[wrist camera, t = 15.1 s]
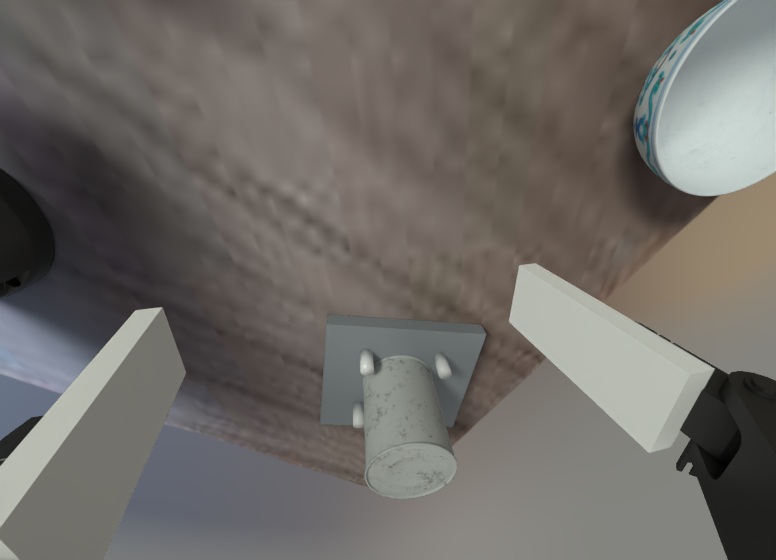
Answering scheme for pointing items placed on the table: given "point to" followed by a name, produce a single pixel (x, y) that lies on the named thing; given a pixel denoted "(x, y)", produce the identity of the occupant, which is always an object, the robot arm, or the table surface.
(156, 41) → the table surface
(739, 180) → the chinaware
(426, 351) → the stub board
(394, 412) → the grey marbled cylinder
